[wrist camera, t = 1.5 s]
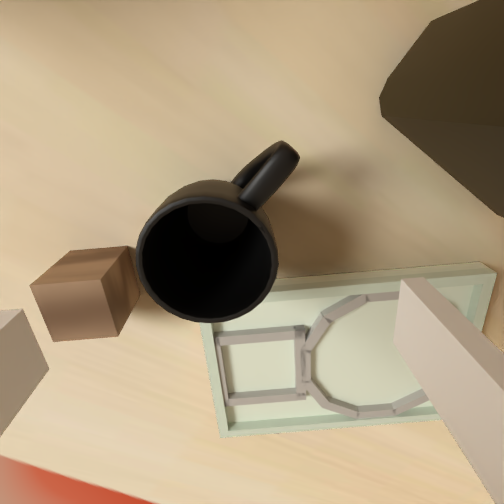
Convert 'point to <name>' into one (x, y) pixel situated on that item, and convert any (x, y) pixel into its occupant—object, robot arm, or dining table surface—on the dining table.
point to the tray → (328, 352)
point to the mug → (215, 242)
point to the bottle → (456, 97)
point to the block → (87, 294)
